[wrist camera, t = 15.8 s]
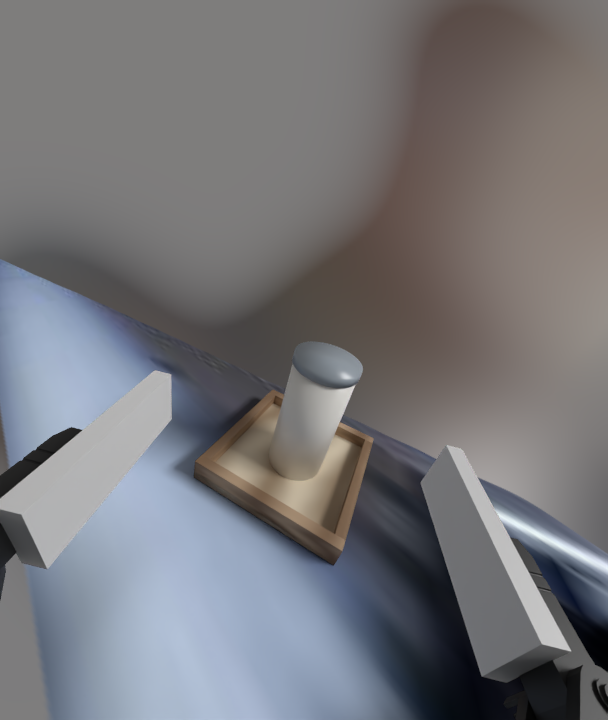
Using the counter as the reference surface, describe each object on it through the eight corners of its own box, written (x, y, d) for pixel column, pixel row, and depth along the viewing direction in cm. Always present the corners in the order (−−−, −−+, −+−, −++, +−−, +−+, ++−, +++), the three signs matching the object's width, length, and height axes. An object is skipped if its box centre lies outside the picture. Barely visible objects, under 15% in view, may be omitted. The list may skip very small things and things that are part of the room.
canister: (323, 443, 36) (359, 352, 29) (321, 488, 30) (366, 386, 23) (273, 430, 35) (298, 335, 29) (261, 473, 29) (289, 366, 23)
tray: (367, 451, 38) (373, 438, 37) (333, 565, 24) (342, 551, 23) (269, 402, 42) (272, 389, 41) (193, 477, 28) (195, 461, 27)
